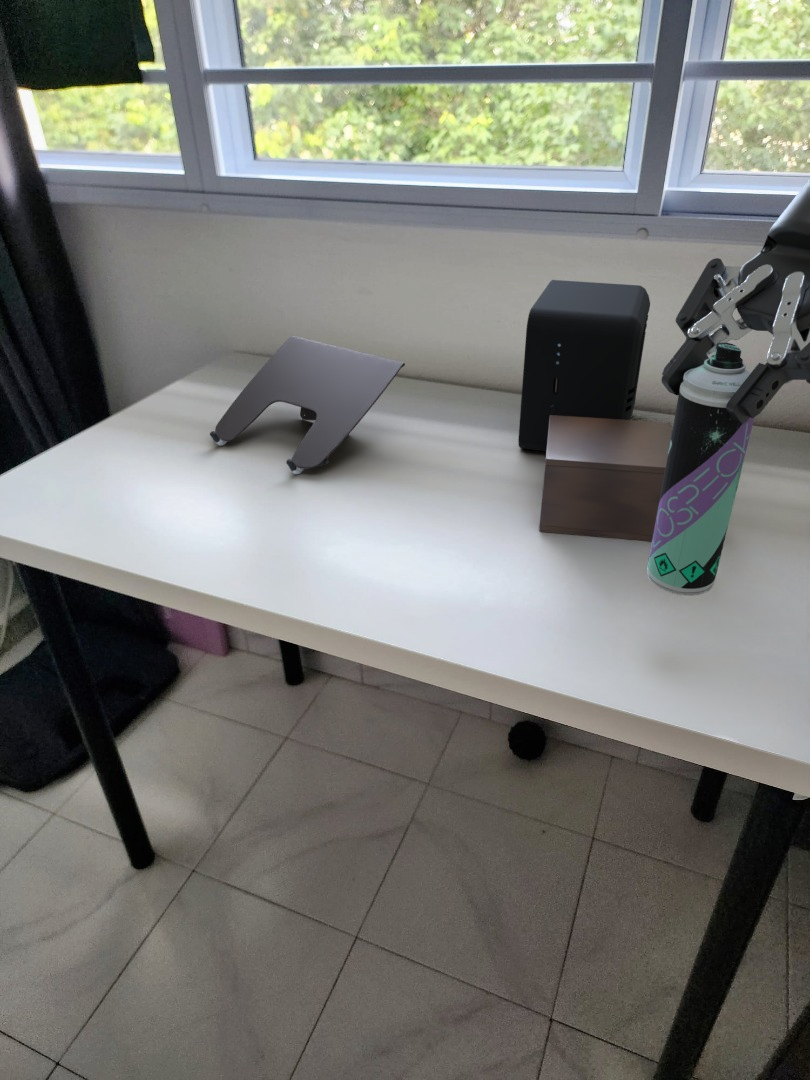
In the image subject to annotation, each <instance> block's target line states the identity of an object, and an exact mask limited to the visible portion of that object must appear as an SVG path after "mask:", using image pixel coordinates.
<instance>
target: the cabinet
mask: <svg viewBox="0 0 810 1080" xmlns="http://www.w3.org/2000/svg"><path fill="white" fill-rule="evenodd" d="M672 429H673V427H672V424H671V422H669V421H653V420H635V419H631V420H622V419H606V418H589V417H573V416H557V415H550V418H549V429H548V440H547V450H546V451H545V461H544V472H543V482H542V483H543V484H542V494H541V505H540V516H539V526H538V532H543V533H553V534H563V535H564V534H567V535H574V536H575V535H577V536H589V537H597V538H608V539H609V538H610V539H622V540H631V541H632V540H634V541H644V542H652V539H653V534H654V528H655V523H656V517H657V512H658V506H659V501H660V495H661V490H662V484H663V479H664V473H665V468H666V462H667V456H668V451H669V445H670V440H671V434H672Z"/></svg>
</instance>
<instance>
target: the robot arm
mask: <svg viewBox="0 0 810 1080" xmlns="http://www.w3.org/2000/svg"><path fill="white" fill-rule="evenodd" d="M735 310H737V313H738V315H739V316H740V318H738V319H736V320H735V318H734V316H733V314H734V311H735ZM675 324H676V325H677V326H678V328H679V329H680V331H681V333H683V335H684V337H685V340H684V342H683V343H682V344H681V346H680V347H679V348H678V350H677V351H676V352H675V353H674V355H673V356H672V357H671V358H670V360H669V361H668V363H667V364H666V365H665V366H664V368H663V370H662V372H661V375H662V376H661V384H662V385H663V386H664V388H665V389H666V390H667V392H669V393H670V394H672V395H674V396H679V390H680V385H681V383H682V382H683V381H684V380H683V377H684V374H685V372H687V371H688V370H690V369H693V368H697V367H699V366H701V365H704V362H705V360H706V359H709V358H710V357H709V356H710V355H712V354H714V351H715V348H716V346H717V344H719V343H729V342H730V341H732V340H733V341H738V340H740V339H742V338H743V337H745V336H746V335H747V334H749V333H750V332H751V331H756V332H768V333H770V334H771V335H772V340H771V343H770V346H769V348H768V352H767V356H766V363H761V362H758V364H757V365H756V366H755V367H754V369H753V370H752V371H751V372H750V373H751V374H750V375H749V376H748V377H747V379H746V380H745V381H744V382H743V384H742V385H741V386H740V387H739V389H738V390H737V391H736V392H735V394H734V395H733V396H732V397H731V399H730V400H729V401H728V403H727V405H726V410H727V411H728V413H729V414H730V416H731V417H732V418H733V420H735V421H738V422H740V423H745V422H747V421H748V419H749V418H754V419H755V418H756V417H757V416H759V415H760V414H761V413H762V412H763V410H764V409H765V408H766V407H767V406H768V405H769V403H770V402H771V400H772V399H773V398H774V397H775V396H776V394H777V393H778V392H779V391H780V389H782V388H783V386H784V385H785V384H790V383H791V382H793V381H805V382H806V383H807V384H809V385H810V178H809V179H808V180H807V181H806V182H805V184H804V185H802V187H801V189H800V190H799V191H798V192H797V194H796V195H795V197H793V199H791V202H790V203H789V204H788V205H787V206H786V208H785V209H784V210H783V212H781V214H780V215H779V217H778V218H777V219H776V221H775V222H773V224H772V226H771V227H770V228H769V231H768V233H767V236H766V239H765V242H764V244H763V246H762V249H761V250H760V251H759V253H757V254H756V255H755V256H754V257H752V258H750V259H749V260H748V261H746V262H745V263H744V264H743V265H742V266H731V265H730V266H727V265H725V263H724V262H723V260H722V259H721V258H719V257H716V258H713V259H711V260H709V261H708V262H707V264H706V265H705V266H704V269H703V271H702V272H701V274H700V275H699V277H698V279H697V280H696V282H695V284H694V286H693V287H692V290H691V292H690V293H689V295H688V296H687V297H686V300H685V301H684V303H683V304H682V307H681V308H680V310H679V312H678V314H677V315H676V317H675ZM718 327H719V328H718ZM717 328H718V329H717ZM716 329H717V330H716ZM714 330H715V331H714ZM711 332H713V333H711ZM710 333H711V334H710Z"/></svg>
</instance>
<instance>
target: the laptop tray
mask: <svg viewBox="0 0 810 1080" xmlns="http://www.w3.org/2000/svg"><path fill="white" fill-rule="evenodd" d="M405 365H406V362H402V361H398V360H394V359H390V358H386V357H382V356H378V355H374V354H370V353H365V352H361V351H358V350H353V349H349V348H345V347H341V346H337V345H333V344H328V343H324V342H320V341H316V340H311V339H308V338H304V337H299V336H296V335H290V336H288V338H287V339H286V341H284V342H283V344H282V345H281V346H280V347H279V348H278V349H277V350H276V351H275V352H274V353H273V354H272V356H271V357H270V358H269V359H268V360H267V361H266V362H265V364H264V365H263V366H262V367H261V368H260V369H259V371H258V372H257V373H256V374H255V375H254V376H253V378H252V379H250V381H249V382H248V383H247V385H246V386H245V387H244V388H243V389H242V390H241V392H240V393H239V395H237V397H236V398H235V400H233V402H232V403H231V405H230V406H229V407H228V409H227V410H226V411H225V413H223V415H222V417H221V418H220V419H219V421H218V422H217V424H216V425H215V428H214V430H212V431H210V432H209V436H210V437H211V439H212V440H213V441H214V443H216V445H217V446H220V447H221V446H225V445H226V444H227V443H229V442H232V441H234V440H235V439H236V438H238V437H239V436H240V435H241V434H242V433H243V432H244V431H245V430H246V429H247V428H249V427H250V425H252V423H254V422H255V421H256V420H257V419H258V417H260V416H261V415H262V414H263V413H264V411H266V410H267V409H268V408H269V407H270V406H272V405H273V404H275V403H279V402H280V403H286V404H289V405H293V406H295V407H299V408H300V412H299V415H300V418H301V419H302V420H304V421H314V422H313V423H312V425H311V426H310V427H309V428H308V431H307V432H306V434H305V435H304V437H303V438H302V439H301V441H300V442H299V444H298V446H297V448H296V450H295V451H294V453H293V454H292V456H291V458H288V459H287V460H286V461H285V462H286V465H287V466H288V467H289V469H290V471H291V472H292V473H293V474H295V475H299V474H301V473H302V472H303V471H304V470H305V469H315V468H317V467H318V468H322V467H323V466H325V465H328V464H329V462H330V461H329V458H330V455H332V453H334V452H335V450H336V449H337V448H338V447H339V446H340V445H341V444H342V442H343V441H344V440H345V439H346V438H347V437H348V436H349V435H350V433H352V431H353V430H354V429H355V428H356V427H357V425H358V424H360V422H361V420H363V418H364V417H365V416H366V414H367V413H368V412H369V411H370V410H371V408H372V407H373V406H374V405H375V404H376V402H377V401H378V400H379V399H380V397H381V396H382V394H384V392H385V391H386V390H387V388H388V387H389V385H390V384H391V383H392V382H393V380H394V379H395V377H396V376H397V375H398V373H399V372H400V370H402V368H404V367H405Z"/></svg>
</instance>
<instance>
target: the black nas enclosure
mask: <svg viewBox="0 0 810 1080" xmlns="http://www.w3.org/2000/svg"><path fill="white" fill-rule="evenodd" d="M650 307H651V300H650V296H649V293H648V292H647V290H646V288H645V287H643V286H642V285H641V284H640V285H639V284H625V283H624V284H623V283H610V282H609V283H608V282H593V281H592V282H591V281H577V280H564V279H563V280H561V279H550V282H549V283H548V284H547V285H546V287H545V288H544V289H543V291H542V292H541V294H539V296H538V298H537V300H536V301H535V302H534V303H533V305H532V306H531V308H530V309H529V313H528V317H527V322H526V328H525V329H526V330H525V331H526V332H525V344H524V357H523V371H522V373H523V374H522V385H521V400H520V413H519V425H518V426H519V427H518V428H519V429H518V441H517V443H518V447H519V448H520V449H525V450H533V451H540V452H546V450H547V440H548V429H549V418H550V415H557V416H573V417H589V418H606V419H622V420H632V417H633V414H634V413H633V412H634V408H635V405H636V400H637V399H636V397H637V391H638V385H639V384H638V383H639V379H640V371H641V365H642V358H643V352H644V345H645V341H646V333H647V332H646V331H647V327H648V320H649V312H650Z"/></svg>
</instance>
